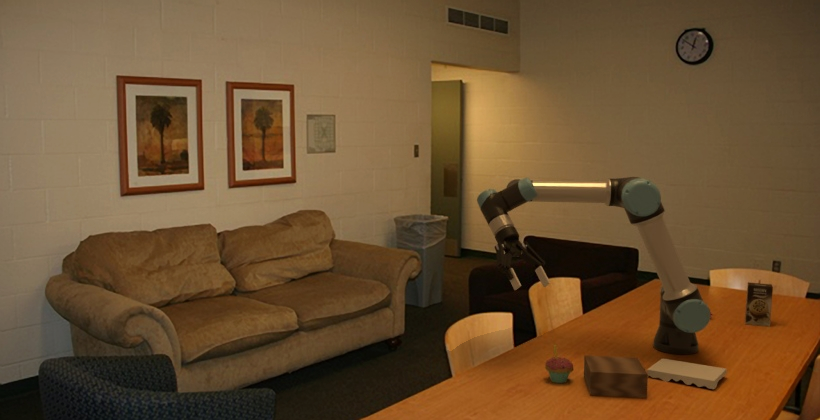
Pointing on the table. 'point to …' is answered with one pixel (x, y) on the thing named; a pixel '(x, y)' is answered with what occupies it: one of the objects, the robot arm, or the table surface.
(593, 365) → the riser
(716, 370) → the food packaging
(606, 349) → the table surface
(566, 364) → the cupcake
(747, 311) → the cookie box
